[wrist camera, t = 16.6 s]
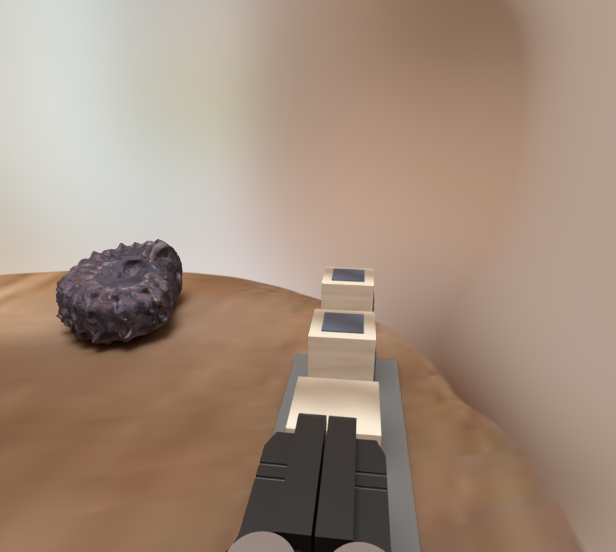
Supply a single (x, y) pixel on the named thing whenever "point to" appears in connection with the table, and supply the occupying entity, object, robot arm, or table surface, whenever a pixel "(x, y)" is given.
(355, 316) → the labelled block
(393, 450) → the gray mat
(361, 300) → the labelled block
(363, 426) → the plain block
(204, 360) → the table surface
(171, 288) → the dark grey rough lump
